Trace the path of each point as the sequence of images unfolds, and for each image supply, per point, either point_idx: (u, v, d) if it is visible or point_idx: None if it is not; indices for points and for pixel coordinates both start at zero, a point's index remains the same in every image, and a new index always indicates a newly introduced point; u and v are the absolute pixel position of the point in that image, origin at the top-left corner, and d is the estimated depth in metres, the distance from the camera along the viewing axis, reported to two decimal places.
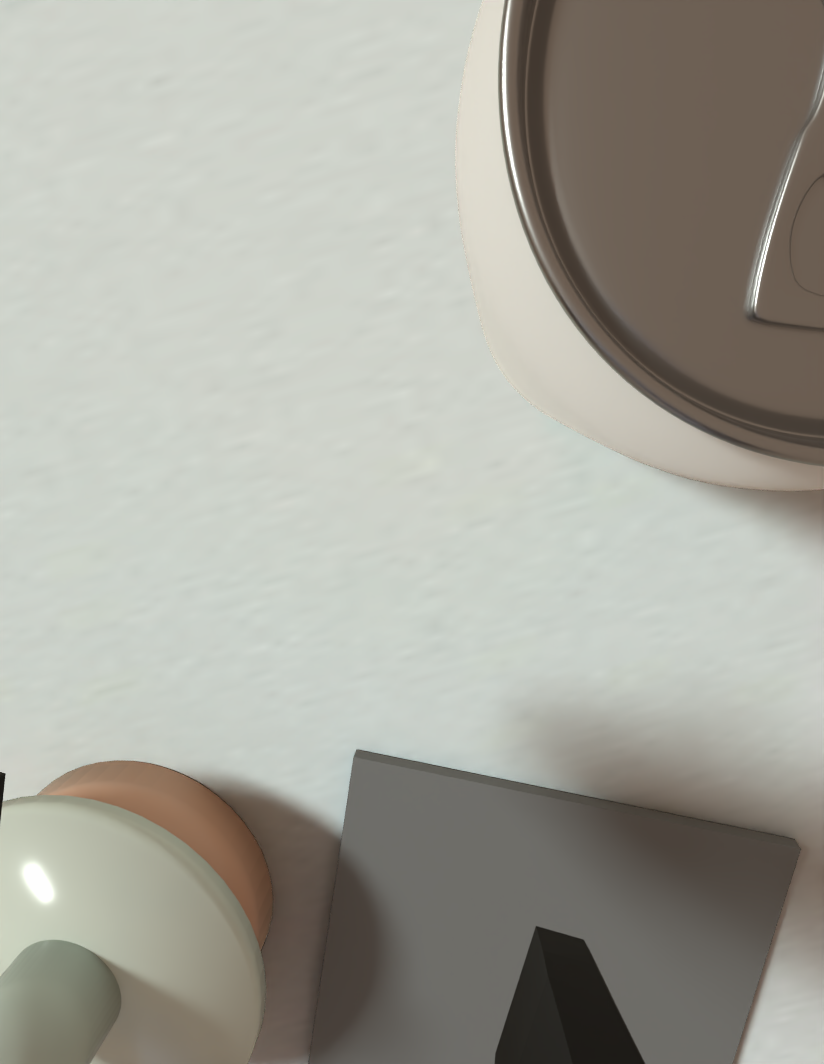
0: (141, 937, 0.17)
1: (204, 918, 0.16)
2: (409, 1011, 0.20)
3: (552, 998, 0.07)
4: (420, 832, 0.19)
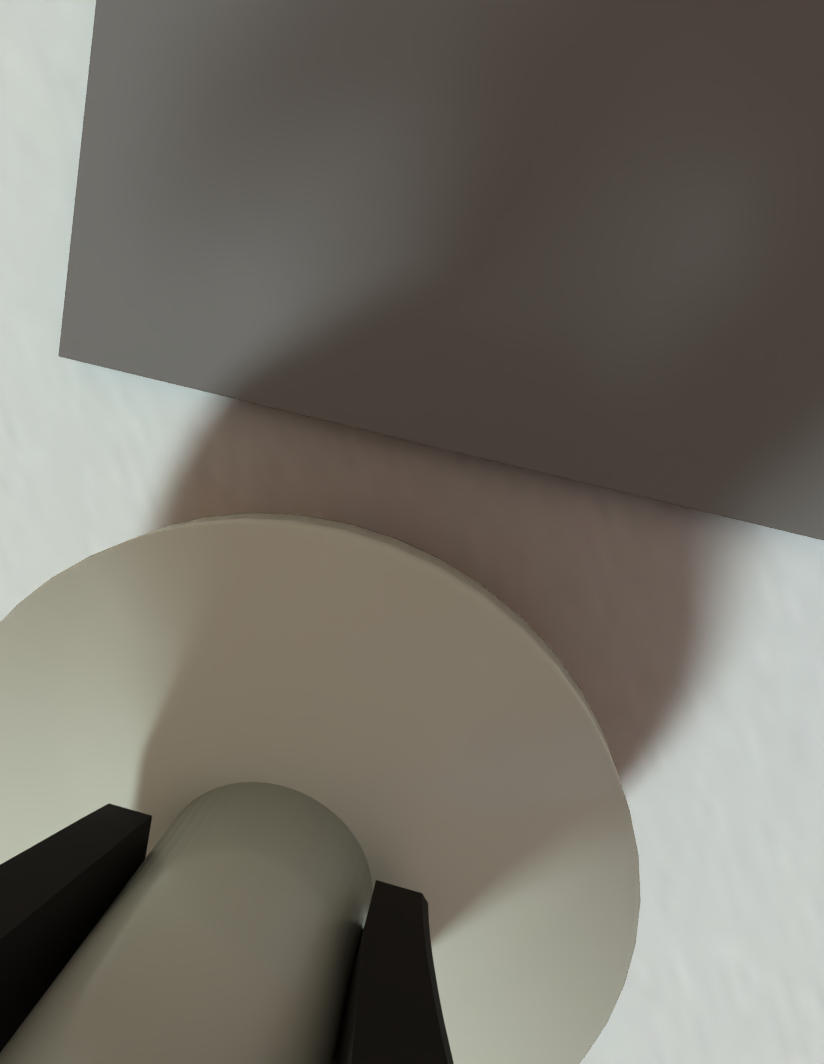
0: (137, 719, 0.09)
1: (83, 594, 0.09)
2: (549, 290, 0.11)
3: (363, 942, 0.07)
4: (179, 248, 0.11)
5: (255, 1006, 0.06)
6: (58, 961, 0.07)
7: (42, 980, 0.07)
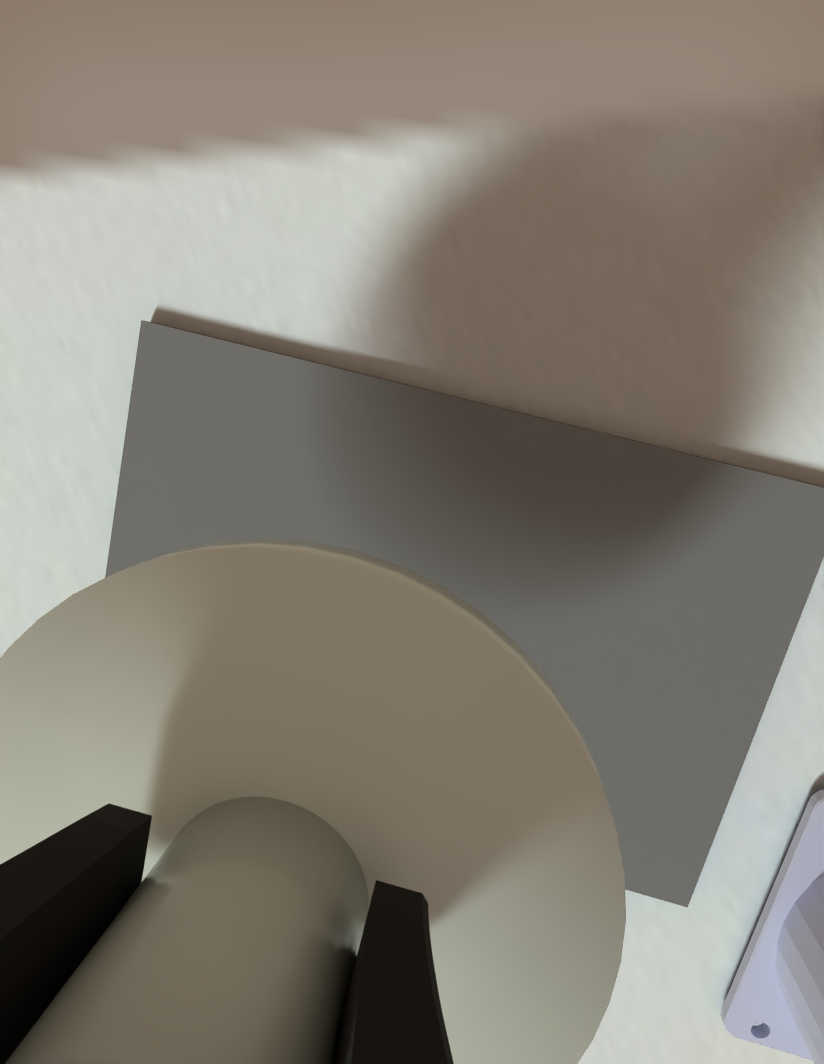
0: (148, 732, 0.10)
1: (102, 612, 0.09)
2: None
3: (363, 943, 0.07)
4: None
5: (263, 1005, 0.07)
6: (58, 961, 0.07)
7: (41, 980, 0.07)
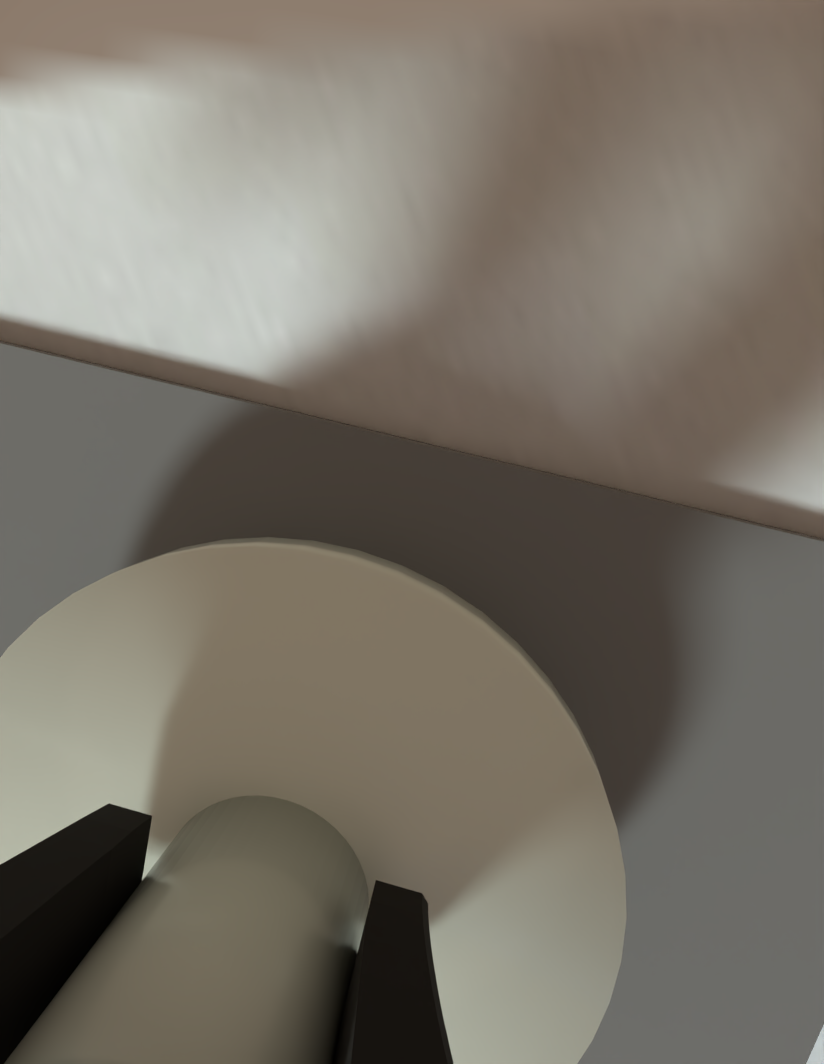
0: (147, 731, 0.10)
1: (103, 610, 0.09)
2: None
3: (363, 942, 0.07)
4: None
5: (263, 1005, 0.07)
6: (58, 961, 0.07)
7: (42, 979, 0.07)
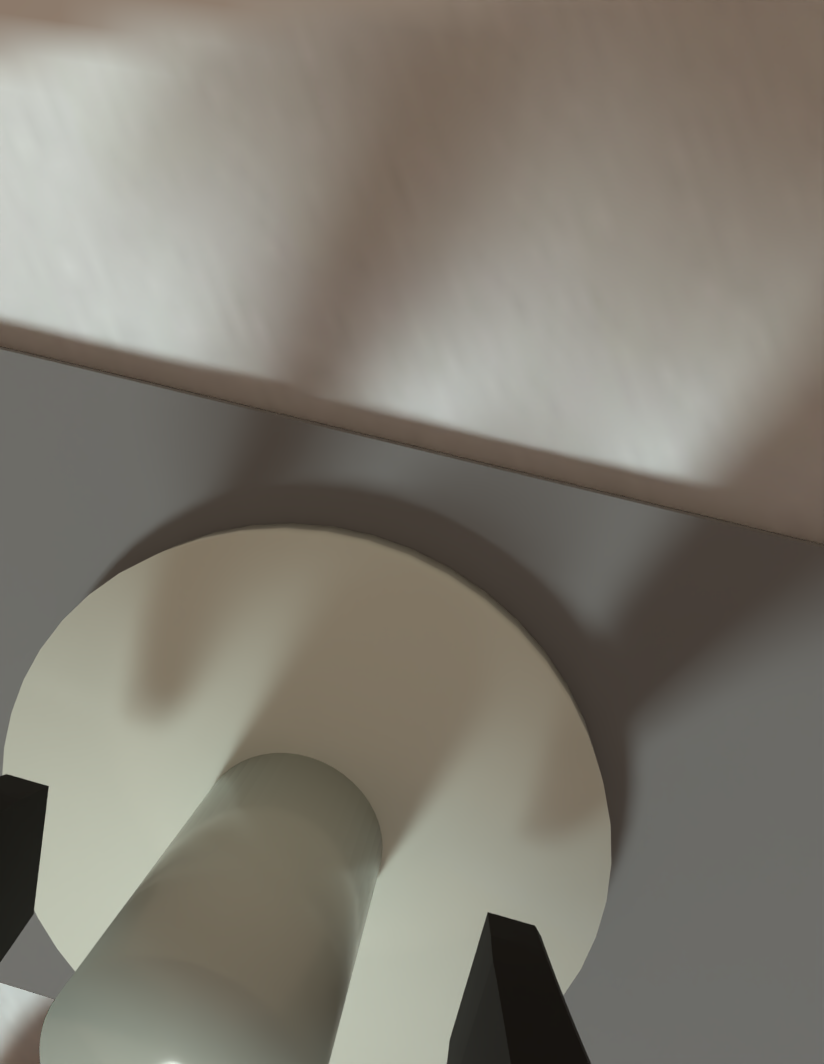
0: (186, 695, 0.11)
1: (145, 588, 0.10)
2: None
3: (495, 982, 0.07)
4: None
5: (294, 922, 0.08)
6: None
7: None
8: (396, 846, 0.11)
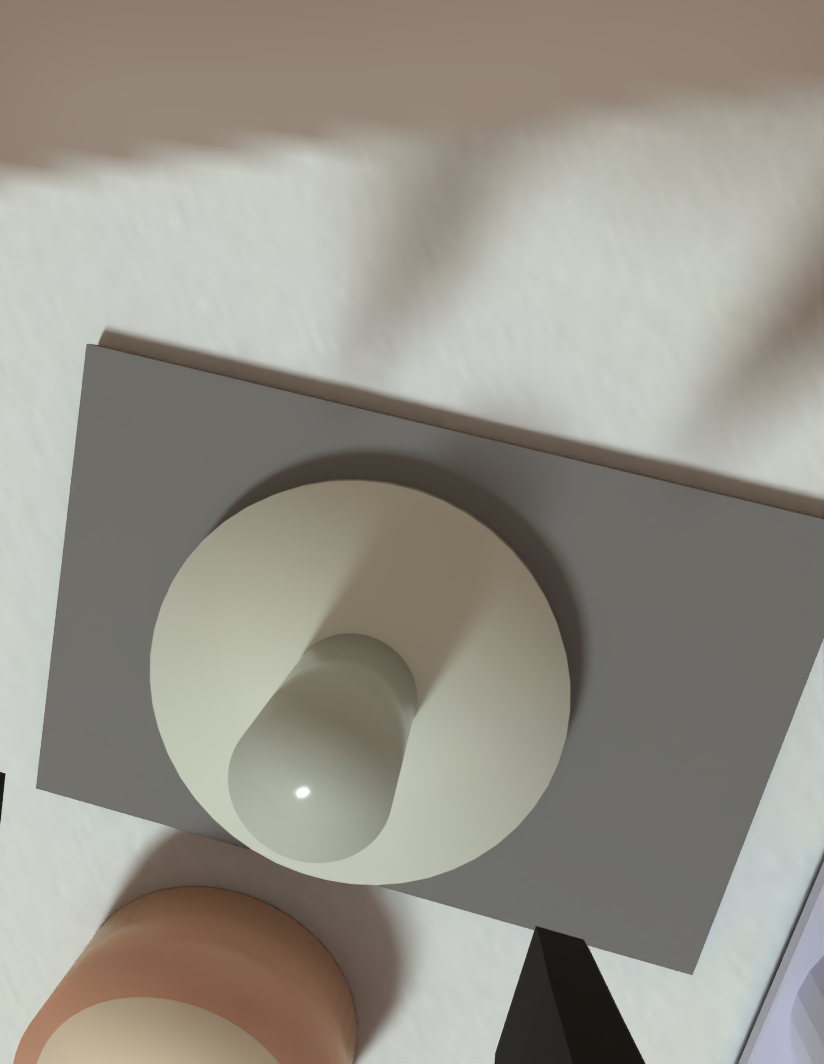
0: (287, 593, 0.16)
1: (263, 518, 0.16)
2: None
3: (552, 998, 0.07)
4: (110, 735, 0.18)
5: (376, 707, 0.13)
6: None
7: None
8: (426, 699, 0.16)
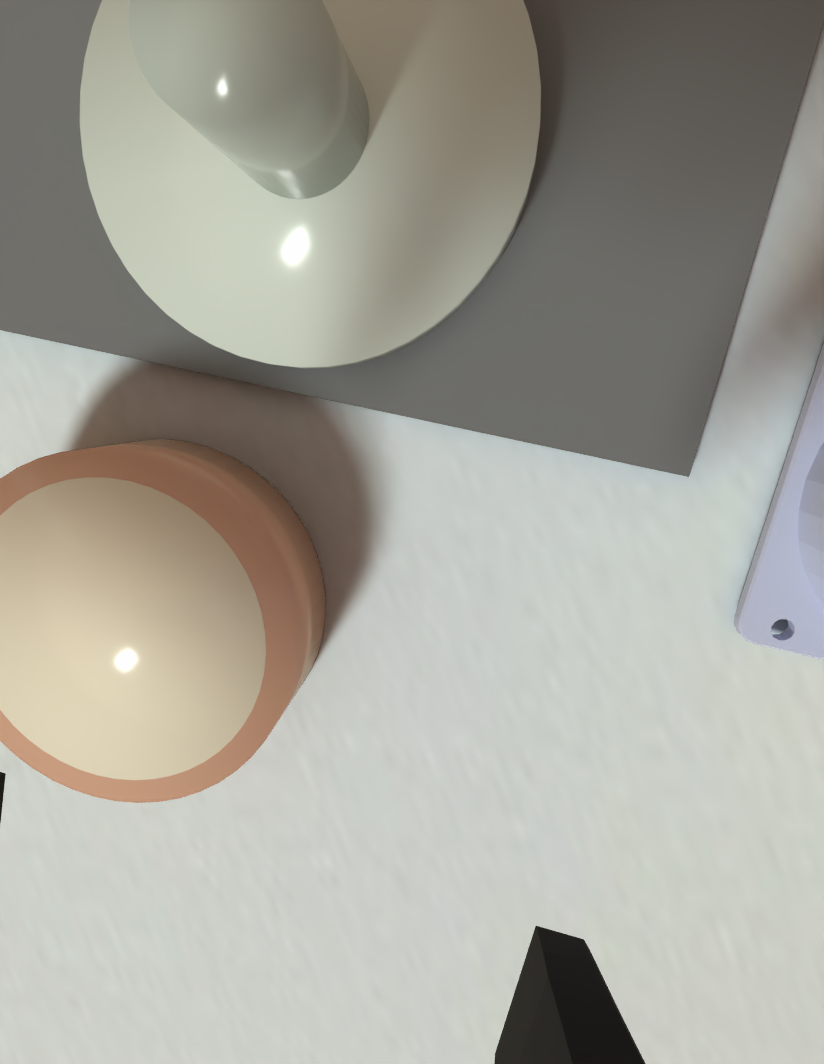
0: None
1: None
2: None
3: (552, 998, 0.07)
4: (44, 246, 0.17)
5: None
6: None
7: None
8: (379, 121, 0.14)
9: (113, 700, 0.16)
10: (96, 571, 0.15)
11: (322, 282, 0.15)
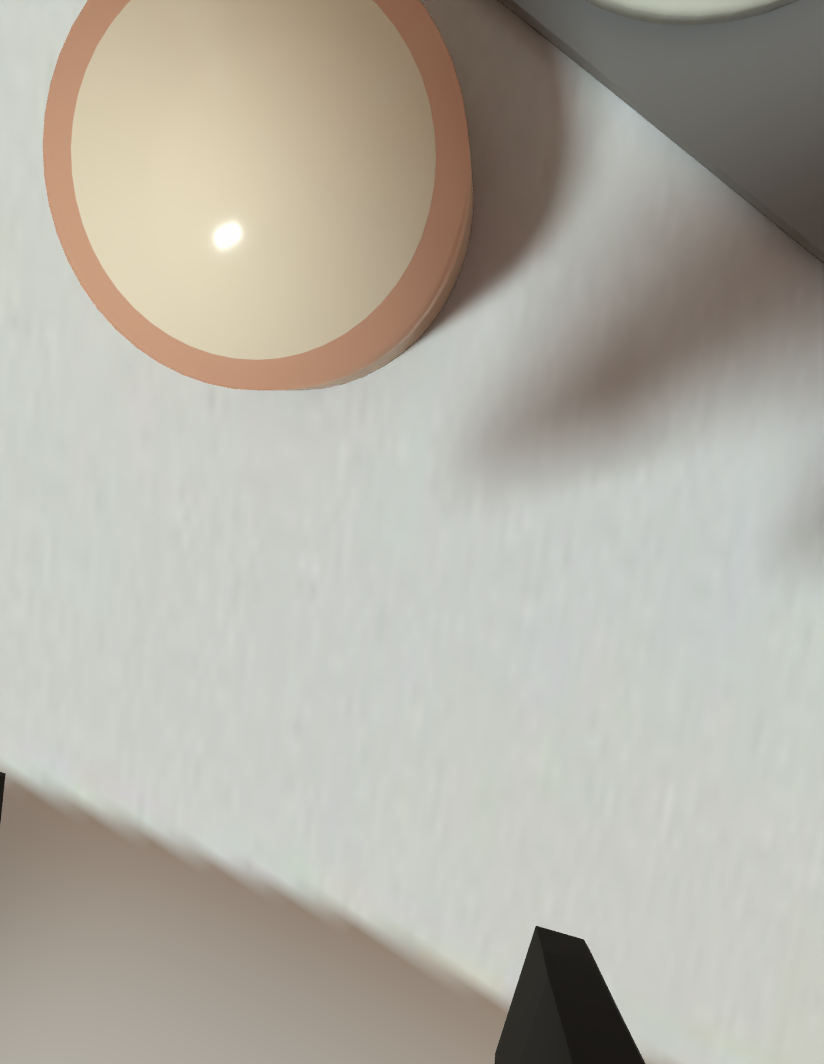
0: None
1: None
2: None
3: (552, 998, 0.07)
4: None
5: None
6: None
7: None
8: None
9: (213, 243, 0.13)
10: (267, 80, 0.13)
11: None
